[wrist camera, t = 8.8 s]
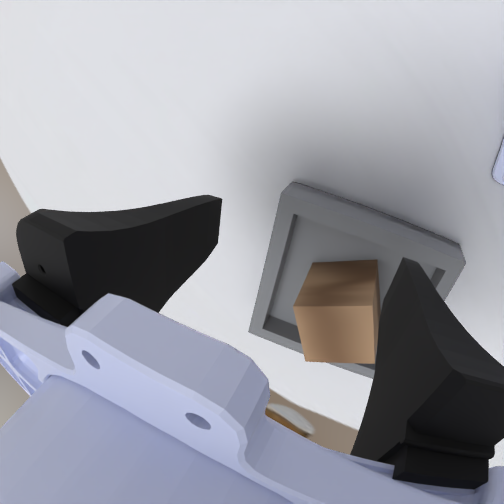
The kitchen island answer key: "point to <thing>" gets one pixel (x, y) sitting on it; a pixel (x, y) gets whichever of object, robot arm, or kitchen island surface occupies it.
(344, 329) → the walnut block
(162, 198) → the kitchen island surface
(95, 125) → the kitchen island surface
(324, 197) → the tray
